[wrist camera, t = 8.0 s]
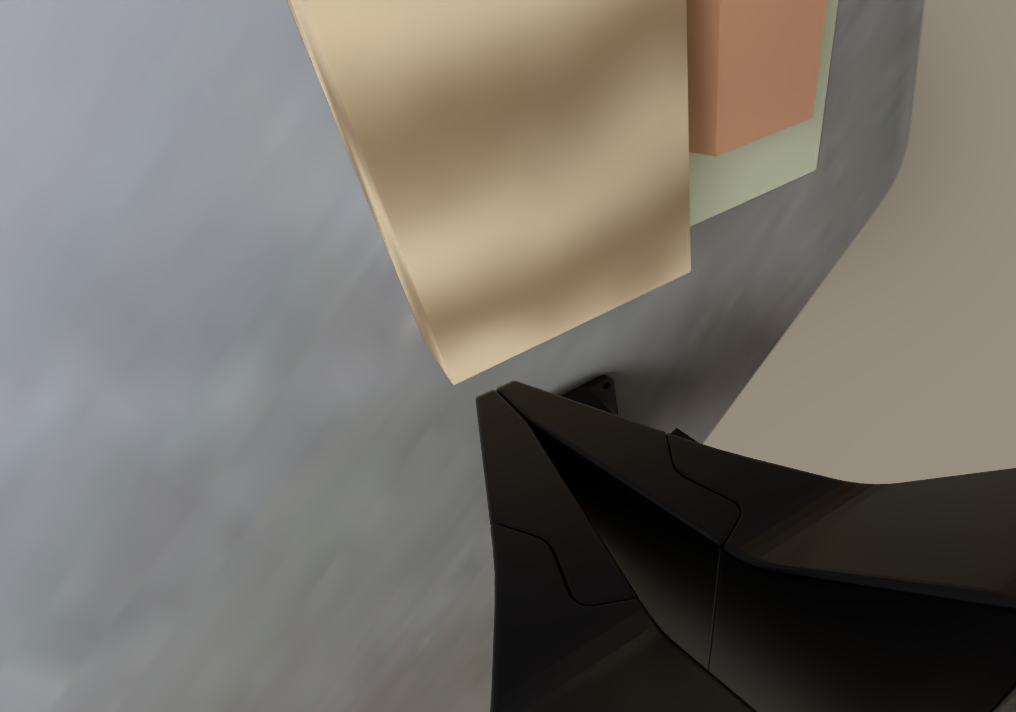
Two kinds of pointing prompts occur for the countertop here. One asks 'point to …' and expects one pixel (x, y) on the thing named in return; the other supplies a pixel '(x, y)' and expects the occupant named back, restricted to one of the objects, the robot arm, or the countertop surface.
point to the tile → (750, 69)
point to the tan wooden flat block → (513, 156)
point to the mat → (761, 154)
